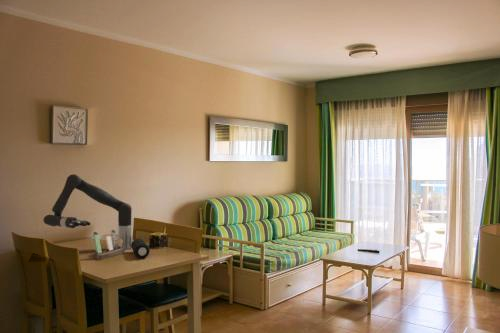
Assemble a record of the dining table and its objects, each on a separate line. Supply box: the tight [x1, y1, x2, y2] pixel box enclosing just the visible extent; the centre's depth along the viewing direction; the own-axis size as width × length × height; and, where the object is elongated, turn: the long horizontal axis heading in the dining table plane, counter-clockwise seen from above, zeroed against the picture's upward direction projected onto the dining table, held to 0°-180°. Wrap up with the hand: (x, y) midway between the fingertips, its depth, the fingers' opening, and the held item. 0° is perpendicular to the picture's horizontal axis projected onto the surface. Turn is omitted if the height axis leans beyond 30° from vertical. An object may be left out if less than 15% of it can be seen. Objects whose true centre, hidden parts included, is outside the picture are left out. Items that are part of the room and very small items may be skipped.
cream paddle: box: [104, 234, 114, 251], centre depth 293 cm, size 1×4×10 cm, turn 157°
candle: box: [148, 232, 168, 248], centre depth 325 cm, size 10×10×10 cm
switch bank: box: [90, 246, 125, 261], centre depth 290 cm, size 9×23×5 cm, turn 157°
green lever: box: [92, 231, 103, 254], centre depth 283 cm, size 3×4×15 cm
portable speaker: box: [131, 237, 151, 259], centre depth 294 cm, size 26×10×10 cm, turn 22°
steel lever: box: [110, 229, 118, 249], centre depth 299 cm, size 2×3×13 cm
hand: (87, 224), depth 286 cm, fingers open, 3 cm apart
